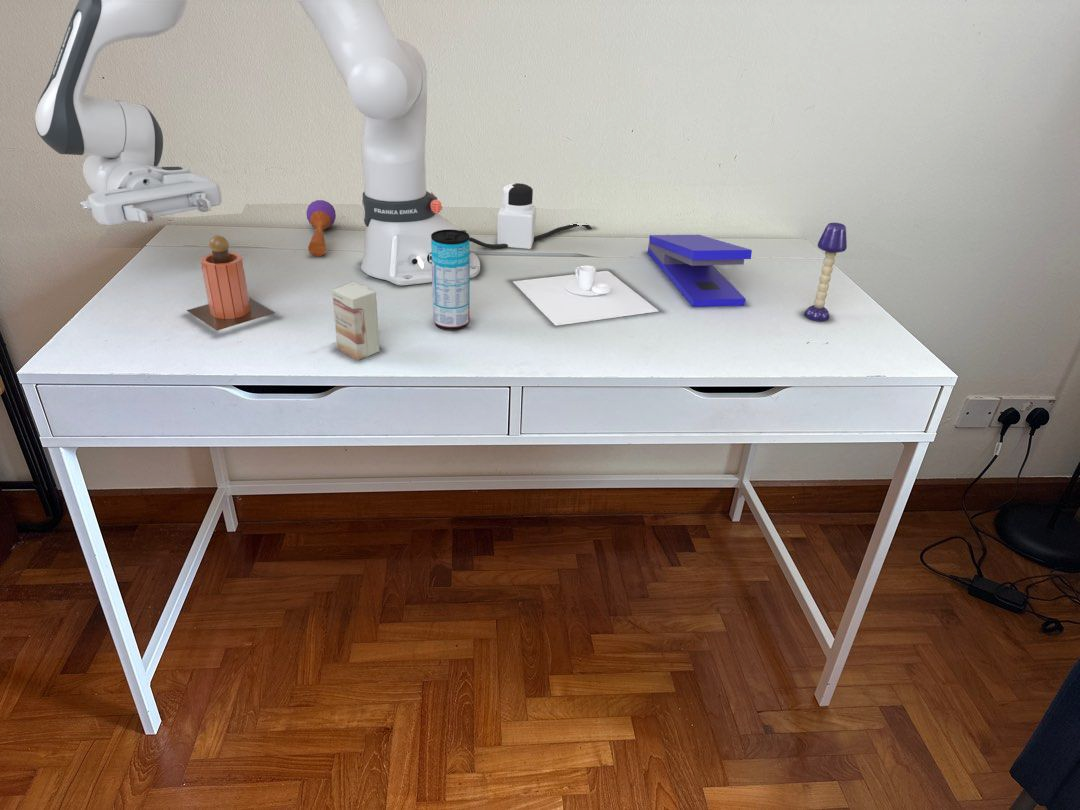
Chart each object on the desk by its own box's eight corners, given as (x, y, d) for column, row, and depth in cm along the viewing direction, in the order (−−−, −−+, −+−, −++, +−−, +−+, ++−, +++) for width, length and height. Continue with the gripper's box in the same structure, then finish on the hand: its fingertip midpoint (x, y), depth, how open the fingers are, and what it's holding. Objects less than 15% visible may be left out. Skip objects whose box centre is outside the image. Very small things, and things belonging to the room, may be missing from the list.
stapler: (689, 306, 135) (697, 254, 130) (643, 252, 158) (649, 205, 153) (749, 305, 137) (760, 253, 132) (695, 251, 160) (703, 205, 155)
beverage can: (473, 318, 127) (474, 231, 119) (463, 333, 122) (463, 243, 114) (439, 314, 127) (437, 227, 120) (428, 328, 122) (425, 239, 115)
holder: (244, 299, 129) (231, 221, 122) (276, 318, 123) (264, 237, 116) (187, 315, 122) (170, 234, 115) (217, 336, 117) (201, 252, 110)
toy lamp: (813, 323, 132) (838, 230, 123) (794, 313, 135) (817, 221, 126) (833, 319, 134) (859, 227, 125) (814, 309, 137) (837, 219, 128)
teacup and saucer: (617, 296, 137) (619, 275, 135) (577, 301, 135) (579, 280, 132) (595, 279, 144) (597, 258, 142) (557, 283, 141) (559, 262, 139)
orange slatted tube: (238, 300, 126) (229, 248, 121) (257, 312, 122) (249, 259, 118) (204, 310, 122) (193, 257, 117) (222, 322, 119) (212, 268, 114)
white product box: (336, 350, 115) (329, 288, 109) (359, 341, 118) (354, 280, 112) (358, 361, 112) (352, 298, 107) (381, 352, 115) (377, 290, 110)
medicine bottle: (534, 238, 162) (537, 182, 156) (531, 249, 156) (533, 191, 150) (501, 235, 163) (503, 179, 157) (497, 246, 157) (498, 189, 151)
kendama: (296, 237, 144) (303, 198, 160) (306, 265, 148) (312, 224, 164) (328, 231, 145) (331, 193, 161) (336, 259, 149) (339, 219, 164)
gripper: (70, 183, 121) (105, 204, 114) (194, 165, 135) (233, 182, 127) (80, 221, 125) (115, 244, 117) (201, 200, 138) (239, 219, 130)
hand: (178, 212), depth 122 cm, fingers open, 8 cm apart
